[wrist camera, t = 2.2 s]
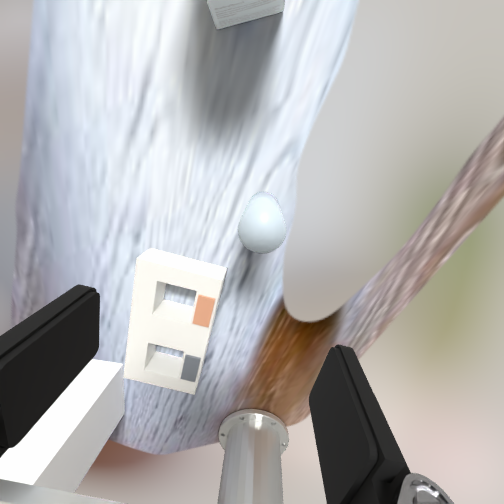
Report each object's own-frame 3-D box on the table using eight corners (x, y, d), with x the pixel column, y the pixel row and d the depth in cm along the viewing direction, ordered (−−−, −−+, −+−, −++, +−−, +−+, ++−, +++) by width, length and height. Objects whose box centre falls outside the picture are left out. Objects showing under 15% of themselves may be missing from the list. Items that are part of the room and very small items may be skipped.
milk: (123, 363, 41) (-83, 649, 17) (124, 412, 45) (-42, 703, 21) (52, 352, 41) (-255, 622, 17) (60, 402, 45) (-182, 681, 21)
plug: (283, 216, 32) (292, 244, 21) (254, 227, 33) (248, 259, 21) (272, 186, 31) (276, 198, 19) (243, 198, 31) (230, 216, 20)
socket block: (200, 373, 41) (193, 396, 37) (136, 358, 41) (122, 379, 37) (227, 268, 35) (222, 281, 31) (150, 247, 34) (135, 258, 30)
